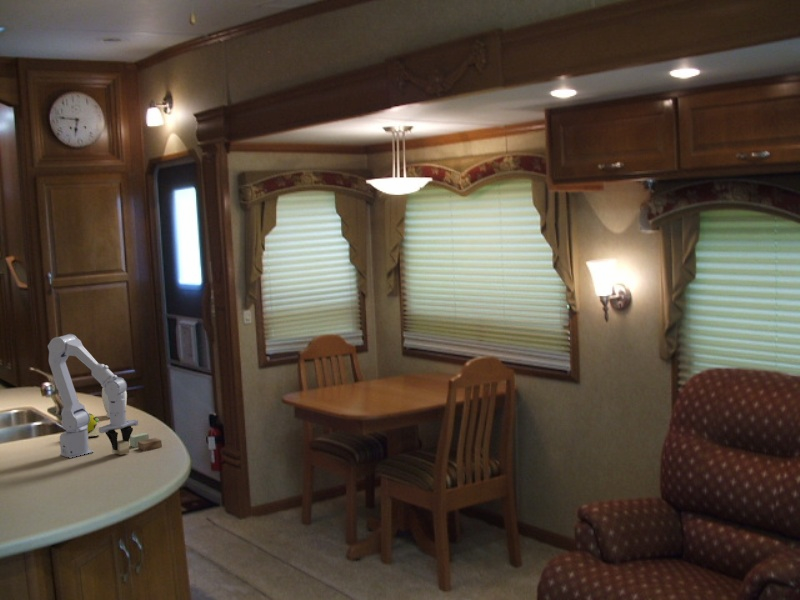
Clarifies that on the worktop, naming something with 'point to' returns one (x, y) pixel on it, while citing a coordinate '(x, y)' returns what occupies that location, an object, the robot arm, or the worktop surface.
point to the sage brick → (138, 439)
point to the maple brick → (121, 447)
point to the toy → (92, 423)
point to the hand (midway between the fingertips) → (120, 448)
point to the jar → (106, 401)
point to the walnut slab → (149, 444)
